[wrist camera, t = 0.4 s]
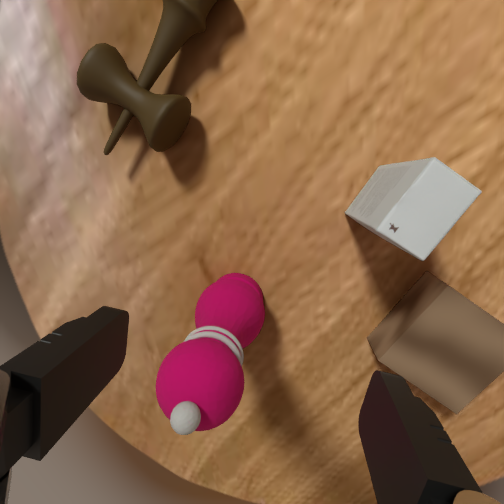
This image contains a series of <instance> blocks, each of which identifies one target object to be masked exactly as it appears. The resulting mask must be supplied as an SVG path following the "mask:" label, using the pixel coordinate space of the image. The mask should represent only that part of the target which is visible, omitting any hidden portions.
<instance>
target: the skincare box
mask: <svg viewBox="0 0 504 504" xmlns="http://www.w3.org/2000/svg"><path fill="white" fill-rule="evenodd" d="M480 194H481V190H479V189H478V188H477V187H475V186H474V185H472V184H471V183H470V182H468V181H467V180H466V179H464V178H463V177H461V176H460V175H459V174H457V173H456V172H455V171H453V170H452V169H451V168H449V167H448V166H446V165H445V164H444V163H442V162H441V161H439V160H438V159H437V158H435V157H433V158H427V159H421V160H415V161H408V162H401V163H394V164H388V165H381V166H379V167H378V168H377V170H376V171H375V172H374V174H373V175H372V176H371V178H370V179H369V180H368V182H367V183H366V185H365V186H364V187H363V189H362V190H361V191H360V193H359V194H358V195H357V197H356V198H355V199H354V201H353V202H352V203H351V205H350V206H349V207H348V209H347V210H346V211H345V214H346V215H348V216H349V217H351V218H352V219H353V220H355V221H356V222H358V223H359V224H361V225H362V226H364V227H365V228H367V229H368V230H370V231H371V232H373V233H374V234H376V235H378V236H379V237H381V238H383V239H385V240H386V241H388V242H390V243H391V244H393V245H395V246H397V247H398V248H400V249H402V250H404V251H405V252H407V253H409V254H411V255H412V256H414V257H416V258H417V259H419V260H421V261H424V260H425V259H426V258H427V257H428V255H429V254H430V253H431V252H432V251H433V250H434V248H435V247H436V246H437V245H438V244H439V242H440V241H441V240H442V239H443V238H444V236H445V235H446V234H447V233H448V232H449V230H450V229H451V228H452V227H453V226H454V224H455V223H456V222H457V221H458V219H459V218H460V217H461V216H462V215H463V213H464V212H465V211H466V210H467V209H468V207H469V206H470V205H471V204H472V203H473V202H474V200H475V199H476V198H477V197H478V196H479V195H480Z"/></svg>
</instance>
